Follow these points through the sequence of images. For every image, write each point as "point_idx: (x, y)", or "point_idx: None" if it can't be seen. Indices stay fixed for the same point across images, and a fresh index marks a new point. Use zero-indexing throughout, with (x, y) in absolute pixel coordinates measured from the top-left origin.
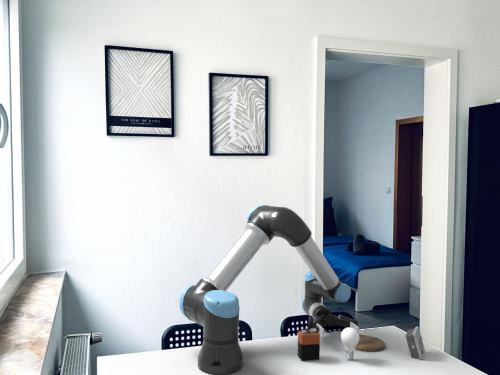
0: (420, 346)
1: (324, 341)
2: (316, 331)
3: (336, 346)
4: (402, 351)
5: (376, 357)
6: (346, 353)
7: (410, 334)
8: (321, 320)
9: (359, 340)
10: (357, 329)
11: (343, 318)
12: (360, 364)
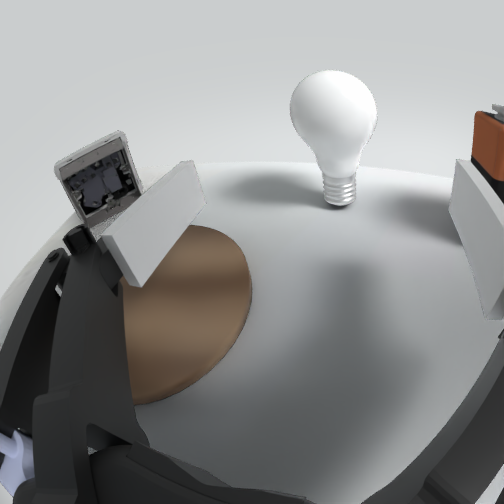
0: (118, 169)
1: (360, 428)
2: (493, 117)
3: (322, 322)
4: None
5: (227, 205)
6: (355, 178)
7: (110, 147)
8: (414, 480)
9: (143, 310)
10: (195, 170)
11: (19, 382)
12: (321, 181)
